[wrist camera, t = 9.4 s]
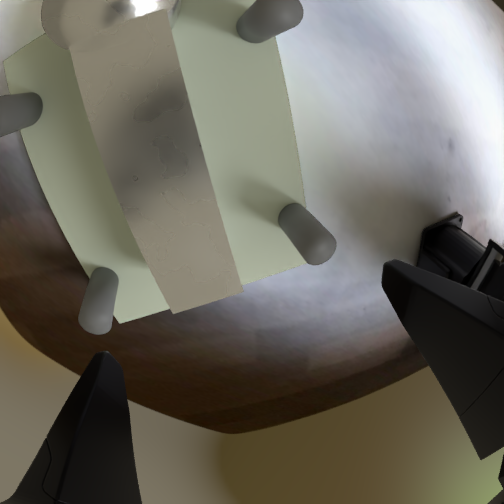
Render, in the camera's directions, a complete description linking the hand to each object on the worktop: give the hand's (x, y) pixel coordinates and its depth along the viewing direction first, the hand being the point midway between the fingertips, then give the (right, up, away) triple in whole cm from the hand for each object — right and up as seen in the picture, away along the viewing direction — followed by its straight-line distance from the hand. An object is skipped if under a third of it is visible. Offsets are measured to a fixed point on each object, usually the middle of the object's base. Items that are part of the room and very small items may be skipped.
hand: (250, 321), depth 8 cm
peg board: (-5, +7, +7) cm, 11 cm away
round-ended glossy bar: (-5, +9, +5) cm, 11 cm away
